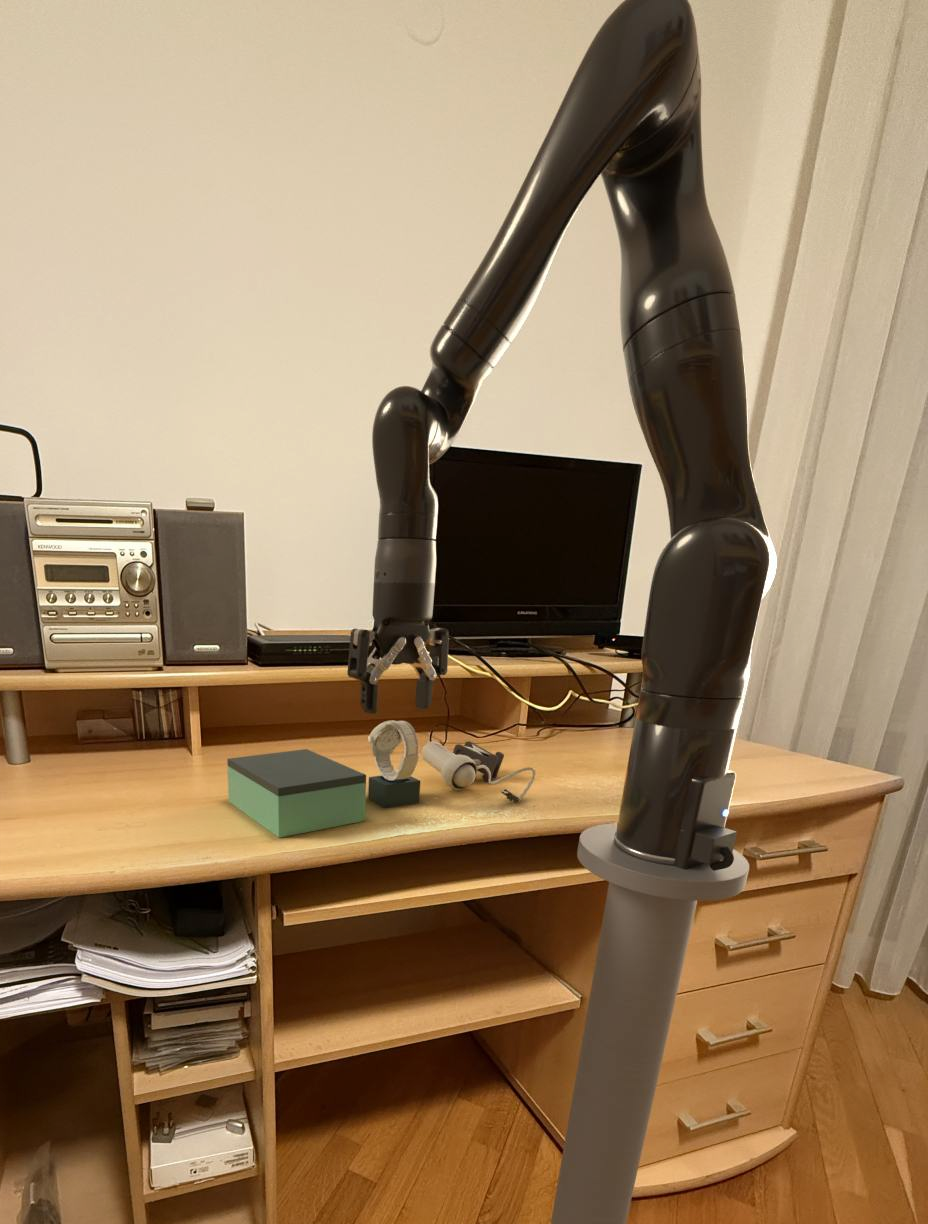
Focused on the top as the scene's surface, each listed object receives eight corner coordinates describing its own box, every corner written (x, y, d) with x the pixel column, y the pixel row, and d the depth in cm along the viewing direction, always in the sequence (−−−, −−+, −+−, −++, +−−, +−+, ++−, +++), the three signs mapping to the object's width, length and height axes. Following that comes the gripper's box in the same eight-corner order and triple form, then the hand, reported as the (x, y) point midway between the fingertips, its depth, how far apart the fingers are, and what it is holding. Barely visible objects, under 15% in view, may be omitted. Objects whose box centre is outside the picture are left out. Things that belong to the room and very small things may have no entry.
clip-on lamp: (544, 817, 90) (465, 761, 104) (560, 777, 87) (478, 725, 101) (483, 822, 84) (408, 762, 98) (498, 780, 81) (419, 724, 95)
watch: (394, 789, 91) (397, 714, 88) (426, 806, 85) (432, 725, 81) (360, 794, 89) (363, 717, 86) (391, 812, 82) (395, 728, 79)
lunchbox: (364, 820, 79) (366, 774, 77) (278, 837, 73) (278, 788, 71) (306, 789, 91) (306, 748, 89) (228, 801, 85) (227, 758, 83)
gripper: (374, 578, 71) (367, 720, 77) (468, 581, 78) (456, 711, 84) (339, 578, 77) (335, 709, 83) (429, 581, 84) (421, 702, 90)
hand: (396, 710), depth 83 cm, fingers open, 8 cm apart
